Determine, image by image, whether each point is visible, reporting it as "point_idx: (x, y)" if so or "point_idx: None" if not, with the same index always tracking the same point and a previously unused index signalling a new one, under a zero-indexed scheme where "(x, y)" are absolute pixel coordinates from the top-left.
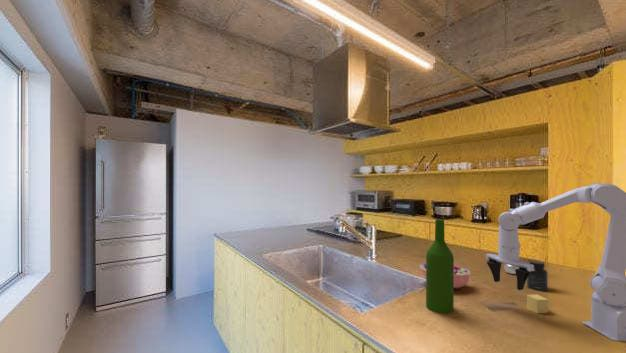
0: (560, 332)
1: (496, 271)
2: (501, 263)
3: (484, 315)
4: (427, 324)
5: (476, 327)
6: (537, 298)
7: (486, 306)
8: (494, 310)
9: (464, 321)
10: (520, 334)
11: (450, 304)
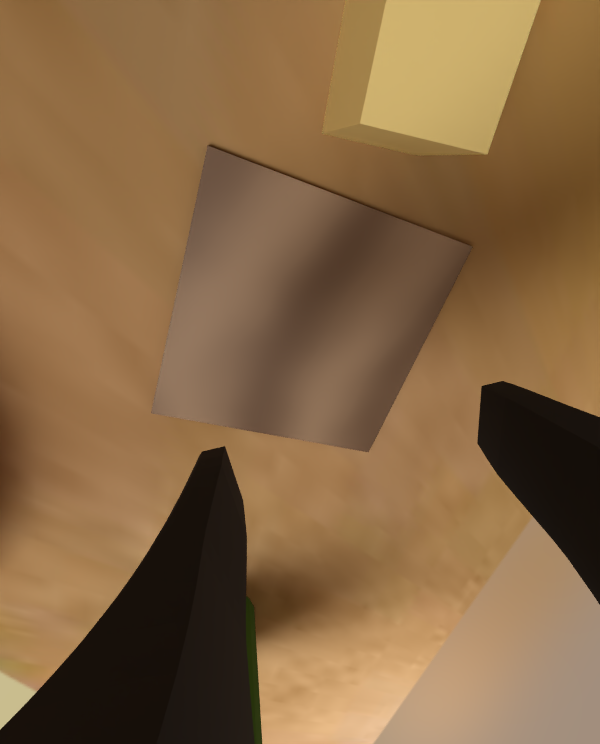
0: (592, 257)
1: (231, 627)
2: (165, 726)
3: (310, 493)
4: (304, 682)
5: (378, 573)
6: (472, 101)
7: (228, 426)
8: (285, 416)
9: (327, 588)
10: (489, 462)
11: (255, 653)
